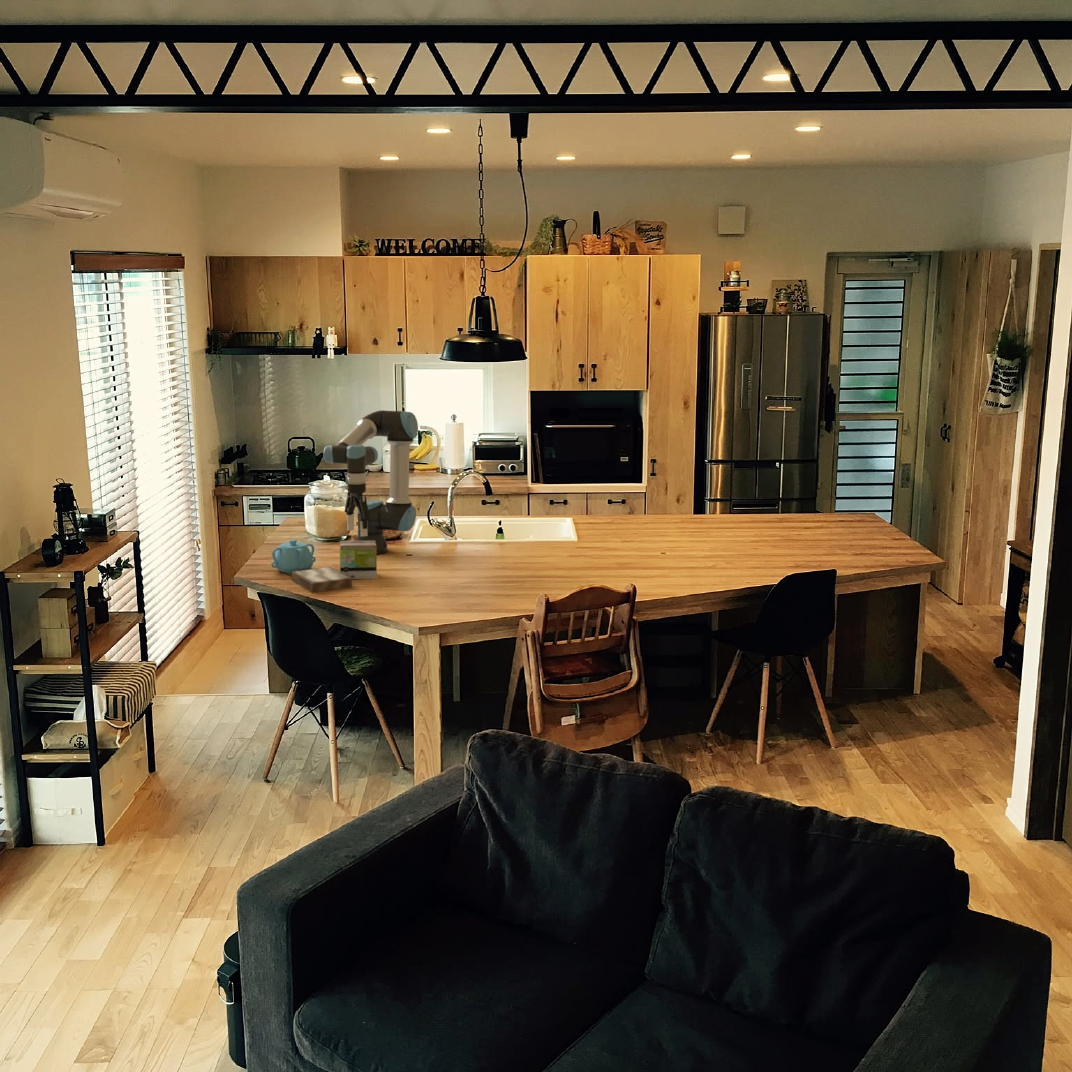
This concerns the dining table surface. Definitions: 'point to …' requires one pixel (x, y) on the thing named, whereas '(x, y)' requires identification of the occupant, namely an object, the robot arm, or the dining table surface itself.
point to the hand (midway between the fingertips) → (357, 533)
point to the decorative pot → (293, 557)
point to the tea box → (358, 559)
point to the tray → (321, 579)
